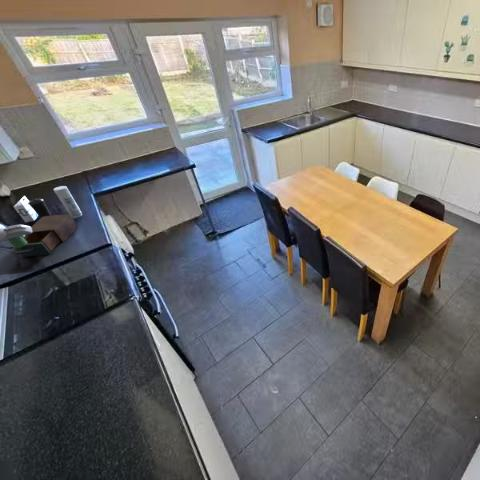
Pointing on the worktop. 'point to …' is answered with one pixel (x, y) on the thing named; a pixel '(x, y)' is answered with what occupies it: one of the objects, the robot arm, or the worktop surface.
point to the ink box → (25, 210)
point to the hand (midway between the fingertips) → (14, 237)
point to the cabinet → (56, 225)
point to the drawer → (38, 244)
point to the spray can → (68, 201)
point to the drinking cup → (39, 207)
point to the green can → (17, 242)
